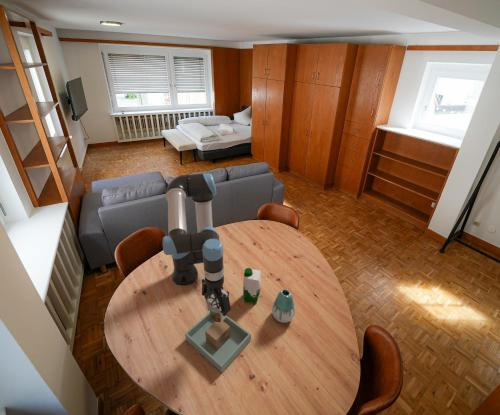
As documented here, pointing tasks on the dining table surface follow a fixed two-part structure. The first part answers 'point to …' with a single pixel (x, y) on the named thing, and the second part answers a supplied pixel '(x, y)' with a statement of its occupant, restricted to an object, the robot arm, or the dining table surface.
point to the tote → (226, 351)
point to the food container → (214, 307)
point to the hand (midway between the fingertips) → (216, 313)
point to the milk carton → (251, 285)
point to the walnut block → (217, 334)
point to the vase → (283, 306)
